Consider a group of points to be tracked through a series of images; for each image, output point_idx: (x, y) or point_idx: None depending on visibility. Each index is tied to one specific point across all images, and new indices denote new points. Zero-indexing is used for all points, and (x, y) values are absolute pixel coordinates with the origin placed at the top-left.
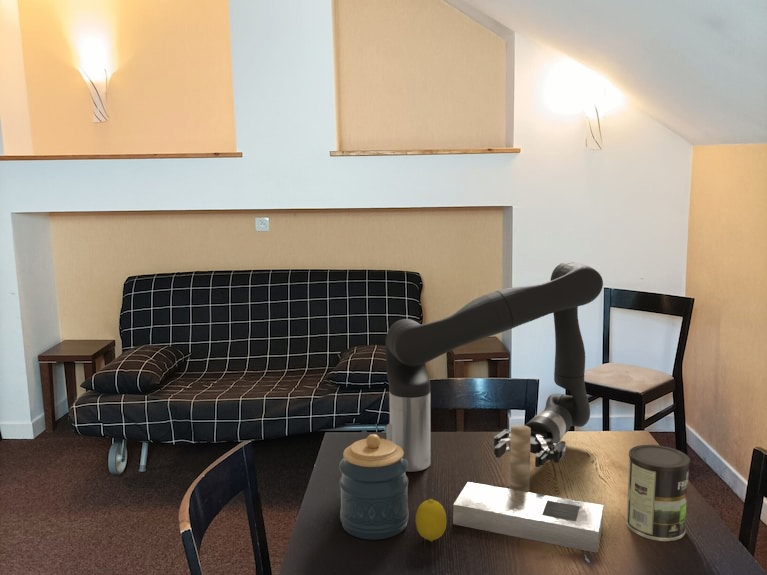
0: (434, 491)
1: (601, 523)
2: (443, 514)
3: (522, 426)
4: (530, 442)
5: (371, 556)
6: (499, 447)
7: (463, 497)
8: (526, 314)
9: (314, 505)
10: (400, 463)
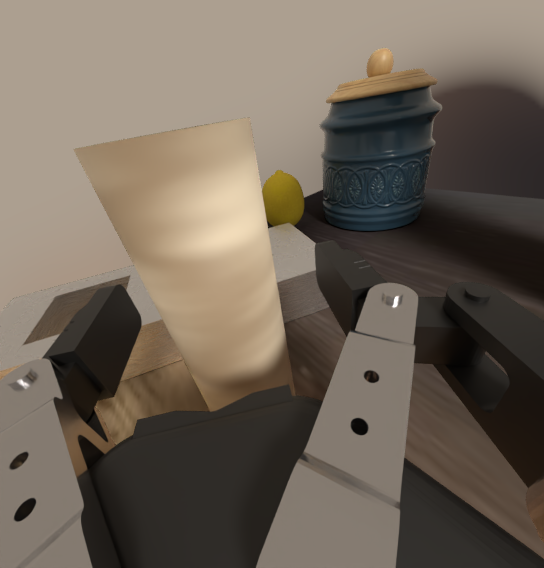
0: (424, 284)
1: None
2: (262, 192)
3: (161, 134)
4: (189, 425)
5: (310, 203)
6: (319, 245)
7: (292, 235)
8: None
9: (458, 194)
10: (335, 113)
